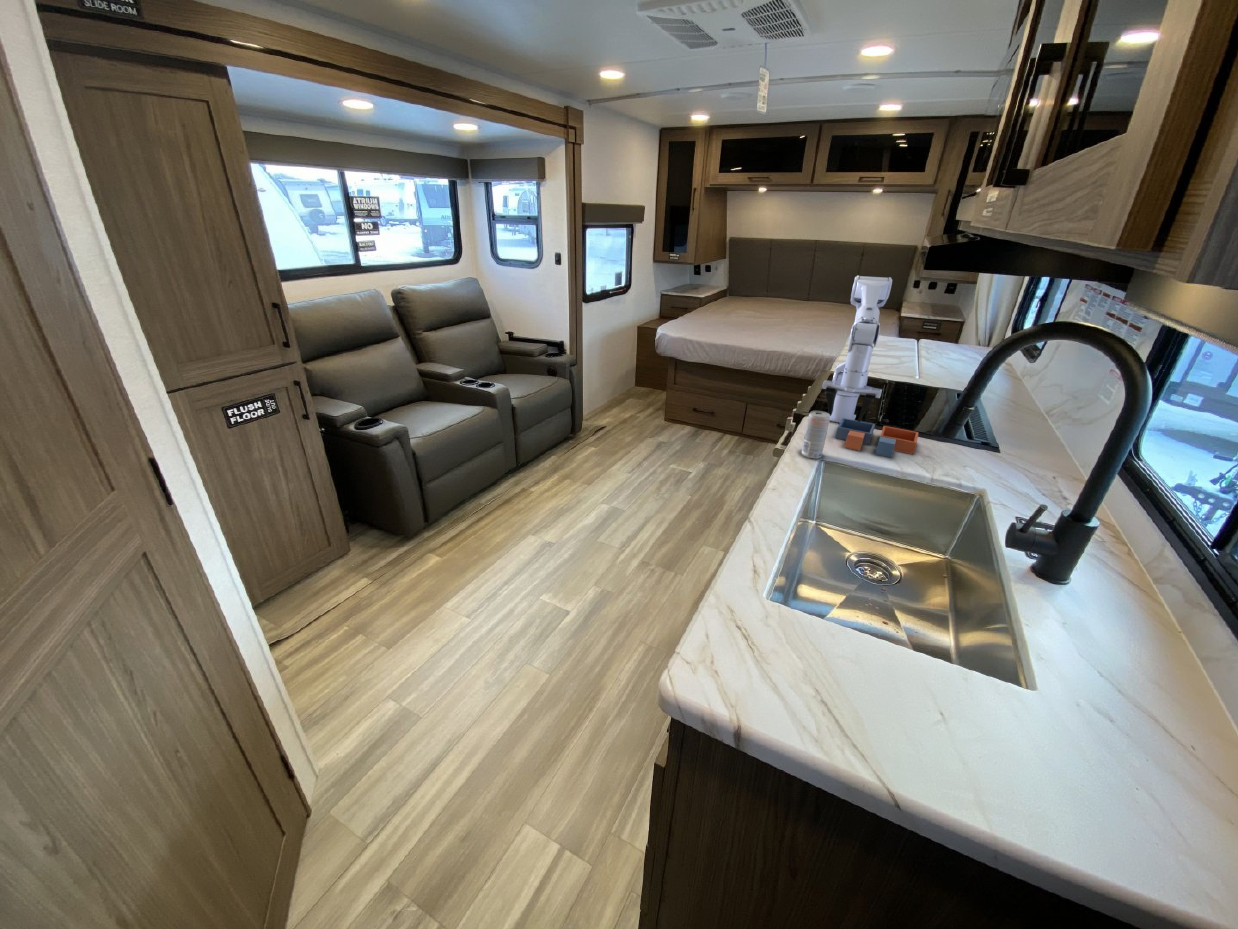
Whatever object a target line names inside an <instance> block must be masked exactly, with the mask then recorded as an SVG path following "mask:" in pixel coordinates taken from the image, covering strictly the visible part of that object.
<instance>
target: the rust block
mask: <svg viewBox="0 0 1238 929" xmlns="http://www.w3.org/2000/svg"><path fill="white" fill-rule="evenodd" d="M864 435H865V433H861V432H856V431H851V430H850V431H849V433H848V436H847V440H845V445H844V448H845V449H850V450H854V451H858V452H860V451H861V449H862V446H863V444H862V443H863V439H864Z"/></svg>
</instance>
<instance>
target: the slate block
mask: <svg viewBox="0 0 1238 929" xmlns="http://www.w3.org/2000/svg"><path fill="white" fill-rule="evenodd" d="M895 442H896V439H891V438H886V437H881V436H879V439H878V443H877V447H876V449H875V453H874V454H875V455H877V456H882V457H886V458H892V456H893V452H894V450H893V449H894V446H895Z"/></svg>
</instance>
